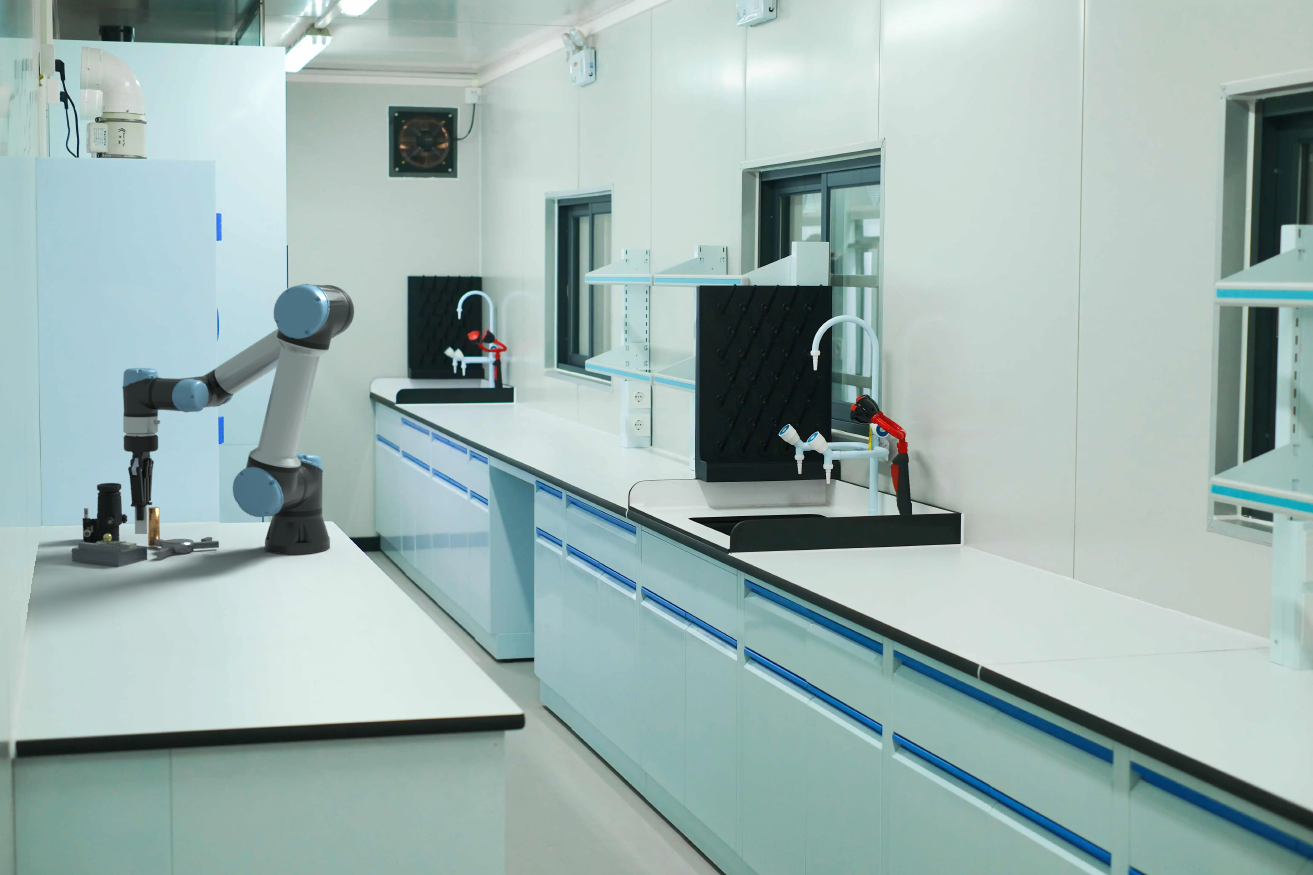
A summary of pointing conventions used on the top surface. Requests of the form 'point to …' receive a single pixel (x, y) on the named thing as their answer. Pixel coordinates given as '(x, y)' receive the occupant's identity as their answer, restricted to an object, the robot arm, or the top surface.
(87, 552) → the level stand
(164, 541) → the capstan
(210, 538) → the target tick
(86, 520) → the scope
